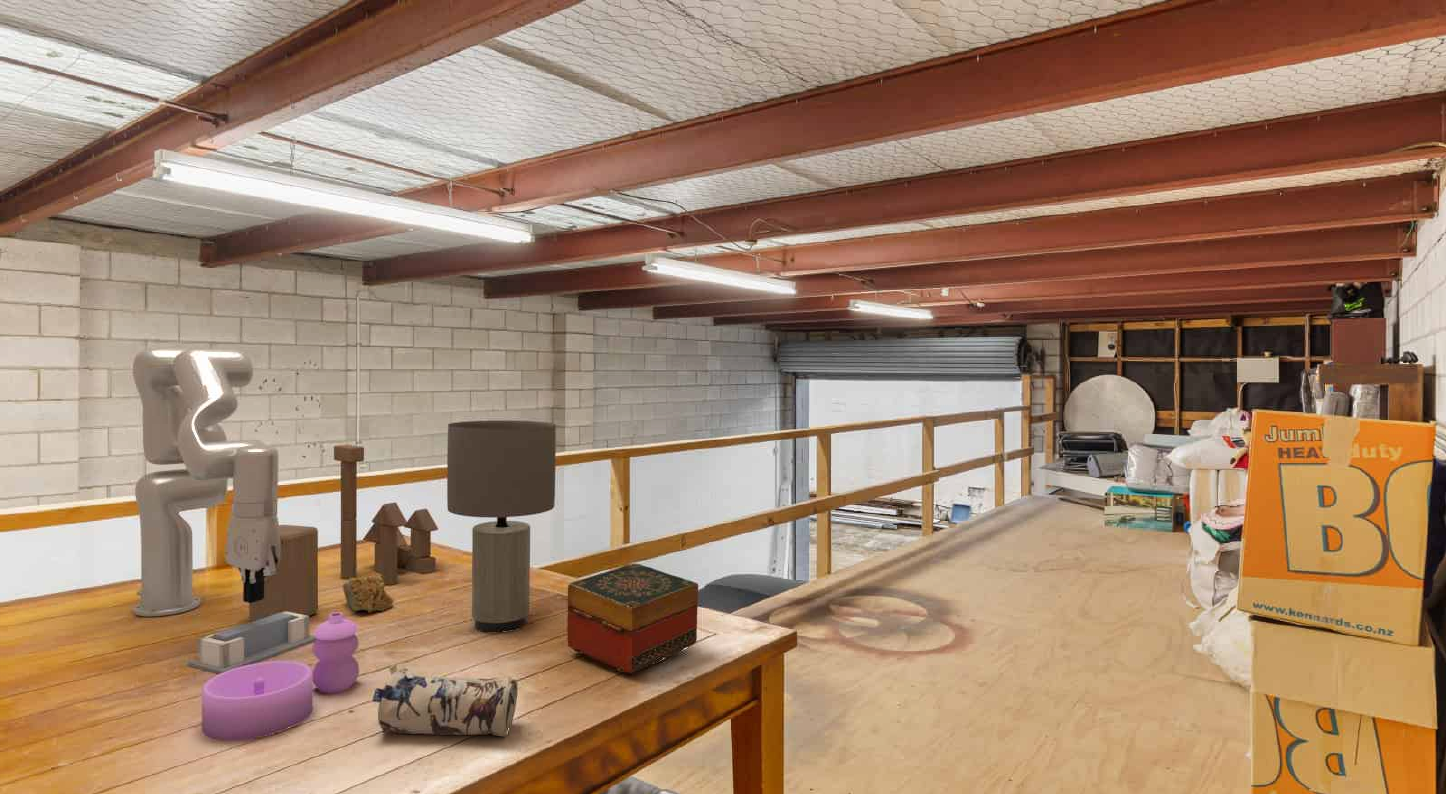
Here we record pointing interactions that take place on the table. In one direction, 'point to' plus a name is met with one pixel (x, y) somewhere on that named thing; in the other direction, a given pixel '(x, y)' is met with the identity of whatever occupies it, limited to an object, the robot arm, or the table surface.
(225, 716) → the container set
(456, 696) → the pencil case
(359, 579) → the rock
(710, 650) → the table surface
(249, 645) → the blue-grey rectangular bar
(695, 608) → the decorative box
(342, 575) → the building blocks
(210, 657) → the endcap board
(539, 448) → the lamp
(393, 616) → the table surface
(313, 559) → the wooden block
